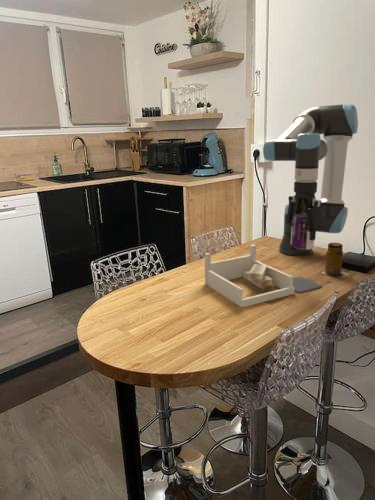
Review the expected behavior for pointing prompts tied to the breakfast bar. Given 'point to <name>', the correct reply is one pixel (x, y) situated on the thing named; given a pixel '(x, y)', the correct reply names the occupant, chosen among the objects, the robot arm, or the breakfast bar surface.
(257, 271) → the offcut birch
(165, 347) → the breakfast bar surface
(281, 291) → the frame
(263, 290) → the offcut walnut
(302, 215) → the beverage can
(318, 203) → the robot arm
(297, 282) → the coaster
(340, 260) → the condiment
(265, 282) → the offcut oak
